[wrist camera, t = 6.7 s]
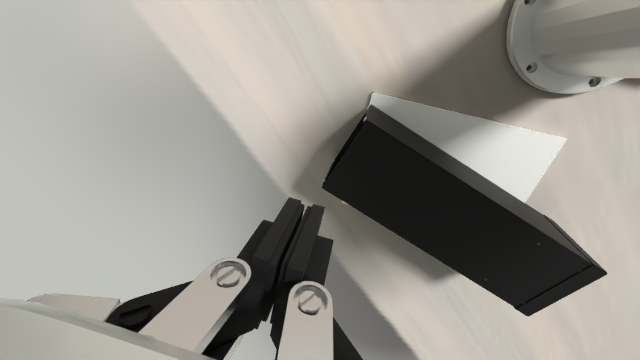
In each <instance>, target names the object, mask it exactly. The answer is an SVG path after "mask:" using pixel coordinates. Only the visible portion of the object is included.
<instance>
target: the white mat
mask: <svg viewBox="0 0 640 360" xmlns="http://www.w3.org/2000/svg"><path fill="white" fill-rule="evenodd" d="M371 104H372V105H373V106H375V107H376V108H378V109H379V110H381V111H383V112H384V113H386V114H387V115H389V116H390V117H392V118H393V119H395V120H397V121H398V122H400V123H401V124H403V125H404V126H406V127H407V128H409V129H410V130H412V131H414V132H415V133H417V134H418V135H420V136H421V137H423V138H424V139H426V140H428V141H429V142H431V143H432V144H434V145H435V146H437V147H438V148H440V149H441V150H443V151H445V152H446V153H448V154H449V155H451V156H452V157H454V158H455V159H457V160H459V161H460V162H462V163H463V164H465V165H466V166H468V167H469V168H471V169H473V170H474V171H476V172H477V173H479V174H480V175H482V176H483V177H485V178H486V179H488V180H490V181H491V182H493V183H494V184H496V185H497V186H499V187H500V188H502V189H504V190H505V191H507V192H508V193H510V194H511V195H513V196H514V197H516V198H517V199H519V200H521V201H522V202H524V203H525V202H526V200H527V199H528V197H529V196H530V194H531V193H532V191H533V190H534V188H535V187H536V185H537V184H538V182H539V181H540V179H541V178H542V176H543V175H544V173H545V172H546V170H547V169H548V167H549V165H550V164H551V162H552V161H553V159H554V158H555V156H556V155H557V153H558V152H559V150H560V149H561V147H562V146H563V144H564V143H565V141H566V140H567V139H566V138H563V137H559V136H555V135H551V134H547V133H542V132H538V131H534V130H530V129H526V128H522V127H517V126H513V125H509V124H505V123H501V122H496V121H492V120H488V119H484V118H480V117H475V116H471V115H467V114H463V113H459V112H454V111H450V110H446V109H442V108H438V107H433V106H429V105H425V104H421V103H417V102H412V101H408V100H404V99H400V98H396V97H392V96H387V95H383V94H379V93H375V92H372V96H371V99H370V103H369V106H370V105H371ZM341 203H343V204H346V205H349V204H347V203H346V202H344V201H341Z"/></svg>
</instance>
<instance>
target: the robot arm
mask: <svg viewBox="0 0 640 360" xmlns="http://www.w3.org/2000/svg"><path fill="white" fill-rule="evenodd" d="M524 1H525V0H515V2H514V4H513V7H512V10H511V13H510V16H509V20H508V26H507V33H506V42H507V52H508V55H509V59H510V62H511V64H512V66H513V67H514V69H515V71H516V73H517V74H518V75H519V76H520V77H521V78H522V79H523V80H524V81H525V82H527V83H528V84H530V85H532V86H533V87H535V88H538V89H541V90H544V91H547V92H554V93H562V94H576V93H583V92H590V91H593V90H597V89H600V88H604V87H607V86H609V85H611V84H613V83H616V82H618V81H620V80H622V79H624V78H640V0H527V4H526V5H525V3H524ZM528 65H529V69H528V70H526V68H527V66H528ZM324 209H325V207H322V206H318V205H315V204H313V206H312V207H310V206H308V207H307V209H306V211H305V213H304V216H303V218H302V215H303V211H304V205H303V204H301V200H297V199H293V198H290V197H289V198H288V200H287V202H286V203H285V205H284V206H283V208H282V210H281V211H280V213H279V214H278V216H277V218H276V219H275V221H274V222H270V221H266V220H263V221H262V222H261V224H260V225H259V226H258V228H257V229H256V231H255V232H254V234H253V235H252V236H251V238H250V239H249V241H248V242H247V244H246V245H245V246H244V248H243V249H242V251H241V252H240V254H239V255H238V256H237V258H223V259H220V260H218V261H216V262H214V263H213V264H212V265H210V266H209V267H208V268H207V269H206V270H205V271H204V272H203V273H202V274H201V275H199V276H198V277H197V278H196V279H195V280H194V281H190V282H187V283H184V284H180V285H177V286H174V287H170V288H167V289H164V290H161V291H157V292H154V293H150V294H147V295H144V296H140V297H137V298H134V299H131V300H129V301H127V302H125V303H120V300H119V299H113V298H102V297H90V296H78V295H66V294H65V295H64V294H44V295H41V296H37V297H34V298H31V299H29V300H27V301H24V300H14V299H0V360H229V359H230V357H231V356H232V354H233V352H234V351H235V349H236V348H237V346H238V345H239V343H240V341H241V339H242V337H243V334H245V333H247V332H249V331H252V330H253V329H254V328H255V329H258V327H259V325H260V322H261V320H262V321H265V322H266V321H267V319H268V316H269V314H270V311H271V309H272V306H273V310H272V315H271V320H270V323H271V324H272V329H271V334H270V336H271V338H272V341H273V343H274V345H275V347H276V349H277V350H276V355H275V360H363V359H362V358H361V356H360V355H359V353H358V352H357V350H356V349H355V348H354V346H353V345H352V343H351V342H350V341H349V339H348V338H347V336H346V335H345V333H344V332H343V330H342V329H341V327H340V326H339V325H338V323H337V322H336V320H335V319H334V317H333V303H332V297H331V295H330V293H329V292H328V290H327V289H326V288H325V287H324V282H325V278H326V272H327V268H328V264H329V259H330V254H331V250H332V245H333V240H331V239H328V238H325V237H321V236H318V232H319V228H320V224H321V220H322V216H323V213H324ZM273 304H274V305H273Z"/></svg>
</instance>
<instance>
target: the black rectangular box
mask: <svg viewBox="0 0 640 360" xmlns="http://www.w3.org/2000/svg"><path fill="white" fill-rule="evenodd" d="M332 162H333V163H332V165H331V167H330V169H329V171H328V174H327V176H326V178H325V179H324V180H323V186H322V188H323V189H325V190H326V191H328V192H329V193H331V194H333V195H334V196H336V197H337V198H339V199H341V200H342V201H344V202H346V203H347V204H349V205H350V206H352V207H354V208H355V209H357V210H358V211H360V212H362V213H363V214H365V215H367V216H368V217H370V218H371V219H373V220H375V221H376V222H378V223H380V224H381V225H383V226H384V227H386V228H388V229H389V230H391V231H392V232H394V233H396V234H397V235H399V236H401V237H402V238H404V239H405V240H407V241H409V242H410V243H412V244H413V245H415V246H417V247H418V248H420V249H422V250H423V251H425V252H426V253H428V254H430V255H431V256H433V257H435V258H436V259H438V260H439V261H441V262H443V263H444V264H446V265H447V266H449V267H451V268H452V269H454V270H456V271H457V272H459V273H460V274H462V275H464V276H465V277H467V278H468V279H470V280H472V281H473V282H475V283H477V284H478V285H480V286H481V287H483V288H485V289H486V290H488V291H490V292H491V293H493V294H494V295H496V296H498V297H499V298H501V299H502V300H504V301H506V302H507V303H509V304H511V305H512V306H514V308H515V309H516V310H518V311H520V312H521V313H523V314H524V315H526V316H530V315H532V314H534V313H536V312H538V311H540V310H542V309H543V308H545V307H547V306H549V305H551V304H553V303H555V302H556V301H558V300H560V299H562V298H564V297H566V296H568V295H569V294H571V293H573V292H575V291H577V290H579V289H581V288H583V287H584V286H586V285H588V284H590V283H592V282H594V281H596V280H597V279H599V278H601V277H603V276H605V275H607V272H606V271H605V270H604V269H603V268H602V267H601V266H600V265H599V264H598V263H597V262H596V261H594V260H593V259H592V258H591V257H590V256H589V255H588V254H587V253H586V252H585V251H584V250H583V249H582V248H581V247H580V246H579V245H578V244H577V243H576V242H575V241H574V240H573V239H572V238H571V237H570V236H569V235H568V234H567V233H566V232H565V231H564V230H563V229H561V228H560V227H559V226H558V225H557V224H556V223H555V222H554V221H553V220H551V219H550V218H548V217H547V216H545V215H542V214H541V213H539V212H538V211H536V210H535V209H533V208H531V207H530V206H528V205H527V204H525V203H524V202H522V201H521V200H519V199H517V198H516V197H514V196H513V195H511V194H510V193H508V192H507V191H505V190H504V189H502V188H500V187H499V186H497V185H496V184H494V183H493V182H491V181H490V180H488V179H486V178H485V177H483V176H482V175H480V174H479V173H477V172H476V171H474V170H473V169H471V168H469V167H468V166H466V165H465V164H463V163H462V162H460V161H459V160H457V159H455V158H454V157H452V156H451V155H449V154H448V153H446V152H445V151H443V150H441V149H440V148H438V147H437V146H435V145H434V144H432V143H431V142H429V141H428V140H426V139H424V138H423V137H421V136H420V135H418V134H417V133H415V132H414V131H412V130H410V129H409V128H407V127H406V126H404V125H403V124H401V123H400V122H398V121H397V120H395V119H393V118H392V117H390V116H389V115H387V114H386V113H384V112H383V111H381V110H379V109H378V108H376V107H375V106H373V105H372V104H371V105H370V106H368V108H367V111H366V113H365V115H364V116H363V118H362V119H361V121H360V122H359V123H358V125H357V126H356V128H355V130H354V131H353V133H352V134H351V136H350V137H349V139H348V140H347V142H346V143H345V145H344V146H343V148H342V149H341V151H340V152H339V154H338V155H337V157H336V158H335V159H333V161H332Z"/></svg>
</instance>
